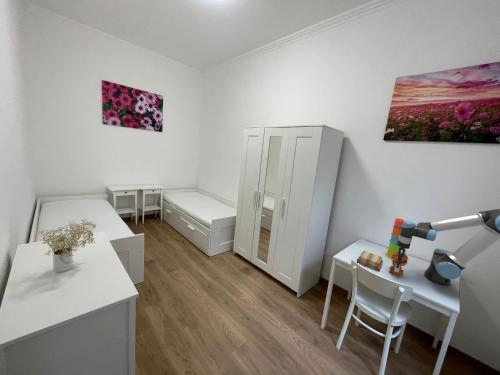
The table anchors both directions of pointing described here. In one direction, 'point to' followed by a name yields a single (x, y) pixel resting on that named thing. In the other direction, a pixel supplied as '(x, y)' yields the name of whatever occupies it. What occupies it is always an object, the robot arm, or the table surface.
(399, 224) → the stacking cups
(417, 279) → the table surface
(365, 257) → the egg carton
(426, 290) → the table surface
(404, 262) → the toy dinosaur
